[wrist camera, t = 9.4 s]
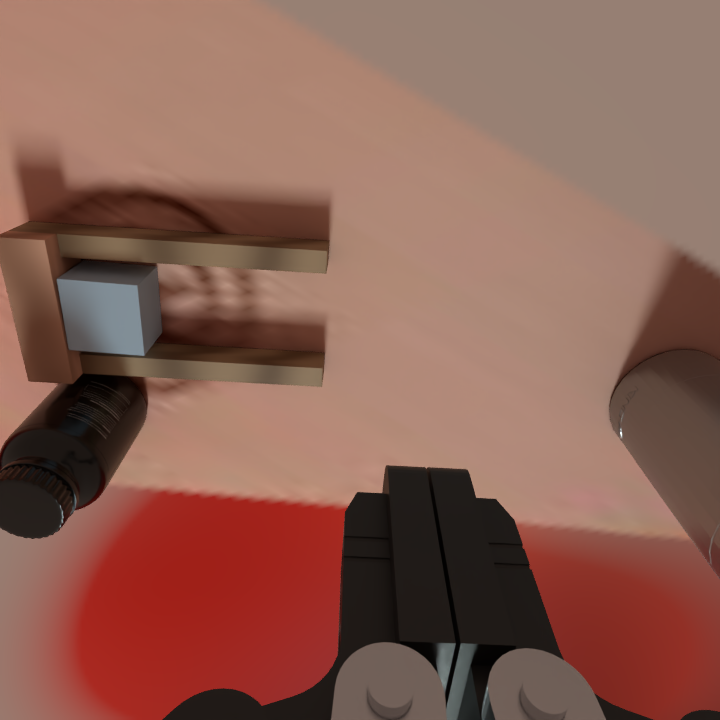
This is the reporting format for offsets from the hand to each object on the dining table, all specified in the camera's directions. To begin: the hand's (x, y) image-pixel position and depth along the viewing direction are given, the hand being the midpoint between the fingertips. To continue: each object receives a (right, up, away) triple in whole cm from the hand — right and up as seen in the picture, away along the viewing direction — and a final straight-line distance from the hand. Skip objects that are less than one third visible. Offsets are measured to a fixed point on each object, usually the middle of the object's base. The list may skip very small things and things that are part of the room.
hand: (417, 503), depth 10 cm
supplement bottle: (-21, -1, +33) cm, 39 cm away
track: (-14, +7, +29) cm, 33 cm away
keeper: (-18, +7, +29) cm, 35 cm away
